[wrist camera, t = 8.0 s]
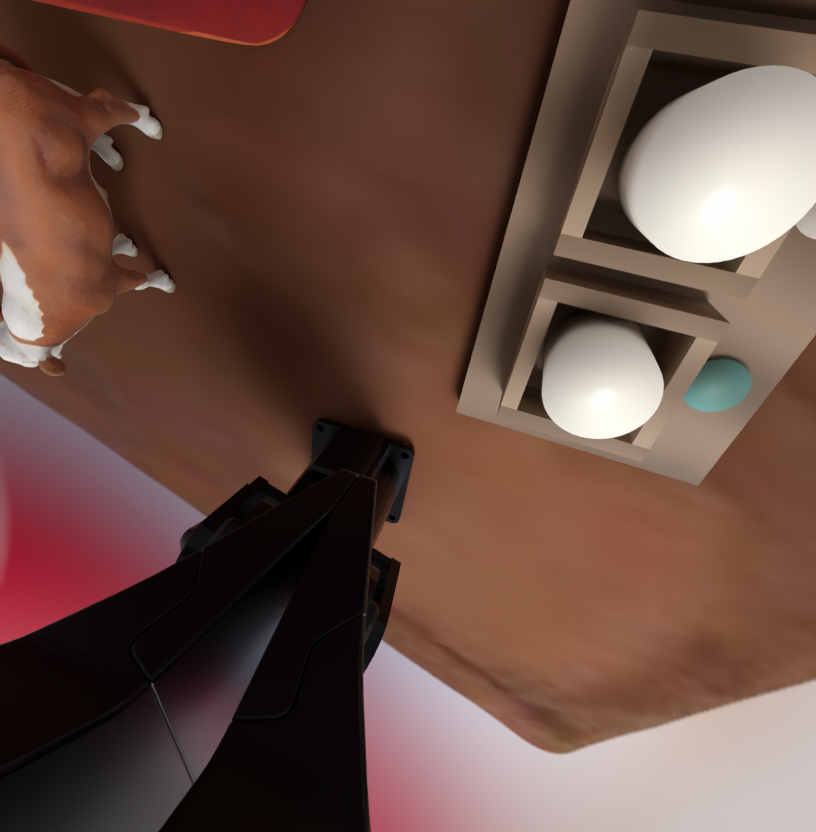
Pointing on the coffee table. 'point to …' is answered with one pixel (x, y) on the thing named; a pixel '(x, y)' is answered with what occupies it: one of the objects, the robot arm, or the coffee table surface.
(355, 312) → the coffee table surface
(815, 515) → the coffee table surface
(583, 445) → the board
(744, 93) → the button mid
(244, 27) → the paper cup
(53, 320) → the bull figurine
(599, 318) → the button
